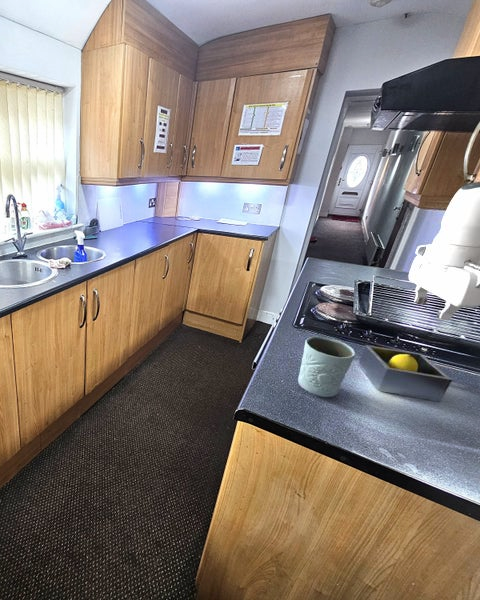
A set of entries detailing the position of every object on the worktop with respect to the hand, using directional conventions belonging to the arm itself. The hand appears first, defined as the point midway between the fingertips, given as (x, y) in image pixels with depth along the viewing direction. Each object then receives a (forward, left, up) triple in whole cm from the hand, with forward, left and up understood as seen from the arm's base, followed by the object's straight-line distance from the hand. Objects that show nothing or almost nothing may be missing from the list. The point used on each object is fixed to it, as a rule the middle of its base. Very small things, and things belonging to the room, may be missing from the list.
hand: (430, 310), depth 80 cm
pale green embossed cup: (+22, +10, -21) cm, 32 cm away
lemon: (+1, 0, -20) cm, 20 cm away
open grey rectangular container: (+1, 0, -21) cm, 21 cm away
